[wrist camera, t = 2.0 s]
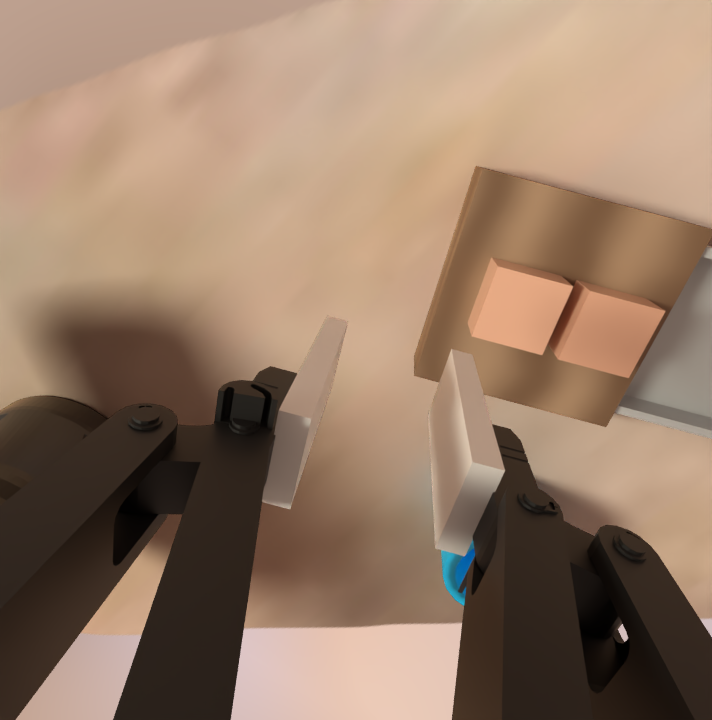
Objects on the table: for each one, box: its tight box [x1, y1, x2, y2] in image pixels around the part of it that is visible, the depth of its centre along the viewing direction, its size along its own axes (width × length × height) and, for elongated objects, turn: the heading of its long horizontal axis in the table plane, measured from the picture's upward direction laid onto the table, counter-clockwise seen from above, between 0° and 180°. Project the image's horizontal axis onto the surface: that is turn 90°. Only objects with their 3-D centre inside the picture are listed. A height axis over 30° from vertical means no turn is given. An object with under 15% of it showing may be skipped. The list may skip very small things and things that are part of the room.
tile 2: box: [468, 257, 573, 355], centre depth 30 cm, size 4×4×2 cm
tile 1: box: [548, 280, 665, 378], centre depth 30 cm, size 4×4×2 cm
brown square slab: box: [414, 166, 712, 427], centre depth 32 cm, size 14×14×4 cm
